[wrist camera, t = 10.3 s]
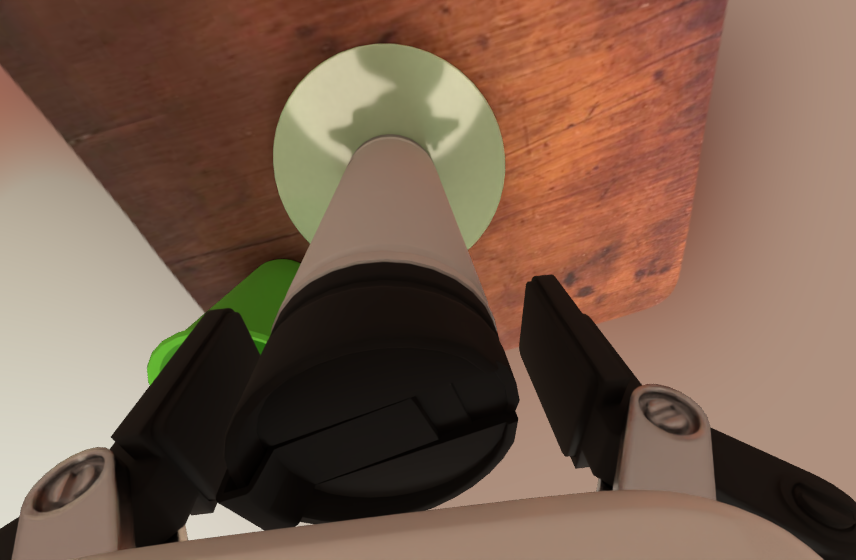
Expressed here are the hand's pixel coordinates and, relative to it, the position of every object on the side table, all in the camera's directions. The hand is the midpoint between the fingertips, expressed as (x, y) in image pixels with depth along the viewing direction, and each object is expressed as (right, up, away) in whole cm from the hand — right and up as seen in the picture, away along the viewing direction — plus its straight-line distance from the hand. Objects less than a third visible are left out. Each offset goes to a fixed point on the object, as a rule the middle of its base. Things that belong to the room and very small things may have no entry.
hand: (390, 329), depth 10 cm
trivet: (-1, +9, +14) cm, 17 cm away
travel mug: (-2, +8, +13) cm, 16 cm away
